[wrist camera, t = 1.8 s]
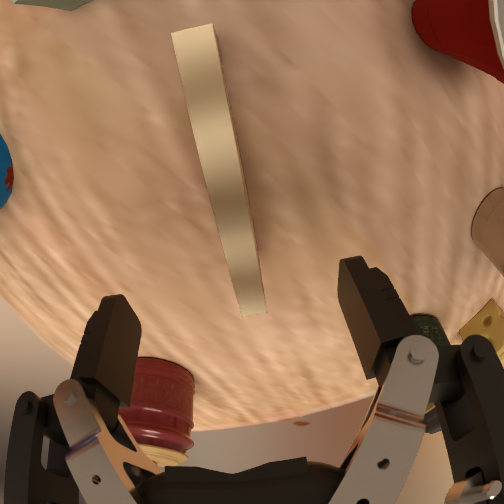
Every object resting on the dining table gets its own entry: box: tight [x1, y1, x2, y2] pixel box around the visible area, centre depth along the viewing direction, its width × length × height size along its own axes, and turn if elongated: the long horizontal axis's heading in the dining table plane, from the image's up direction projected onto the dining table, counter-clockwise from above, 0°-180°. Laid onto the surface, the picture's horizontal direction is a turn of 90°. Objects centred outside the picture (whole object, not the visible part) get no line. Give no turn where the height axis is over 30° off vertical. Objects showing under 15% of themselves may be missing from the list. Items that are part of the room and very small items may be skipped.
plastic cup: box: [412, 0, 504, 83], centre depth 10 cm, size 11×11×12 cm
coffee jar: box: [411, 316, 450, 434], centre depth 34 cm, size 10×8×19 cm
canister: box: [118, 358, 195, 467], centre depth 36 cm, size 13×13×18 cm
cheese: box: [459, 299, 504, 361], centre depth 40 cm, size 10×11×10 cm
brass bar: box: [171, 24, 267, 317], centre depth 20 cm, size 20×2×8 cm, turn 9°
